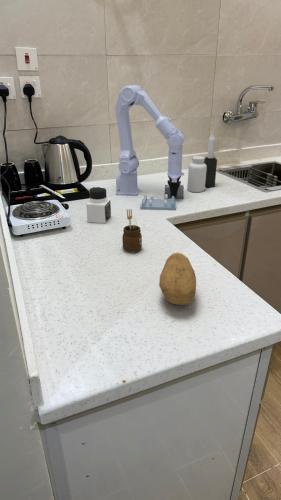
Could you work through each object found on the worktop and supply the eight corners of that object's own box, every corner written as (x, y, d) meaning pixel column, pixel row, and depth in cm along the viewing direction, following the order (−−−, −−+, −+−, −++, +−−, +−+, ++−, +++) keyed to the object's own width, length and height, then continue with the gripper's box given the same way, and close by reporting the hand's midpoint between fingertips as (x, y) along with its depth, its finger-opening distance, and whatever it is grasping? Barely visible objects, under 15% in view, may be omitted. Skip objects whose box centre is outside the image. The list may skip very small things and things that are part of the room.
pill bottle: (206, 192, 160) (208, 159, 153) (188, 192, 160) (190, 159, 153) (203, 187, 167) (206, 155, 160) (186, 187, 167) (188, 155, 160)
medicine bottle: (106, 223, 128) (104, 191, 123) (87, 222, 130) (84, 190, 124) (111, 216, 134) (110, 185, 129) (93, 215, 136) (91, 184, 130)
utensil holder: (125, 254, 107) (124, 217, 101) (120, 245, 112) (119, 209, 107) (144, 252, 108) (144, 215, 103) (138, 243, 114) (138, 207, 108)
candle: (200, 185, 170) (204, 130, 159) (209, 184, 172) (214, 130, 161) (206, 188, 166) (211, 132, 155) (215, 186, 168) (220, 131, 156)
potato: (156, 315, 80) (157, 280, 76) (161, 279, 94) (161, 247, 90) (195, 317, 79) (198, 282, 75) (194, 281, 93) (196, 249, 89)
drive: (164, 199, 153) (164, 187, 150) (164, 195, 157) (164, 184, 154) (183, 199, 152) (183, 187, 150) (182, 196, 156) (183, 184, 154)
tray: (140, 209, 141) (140, 200, 140) (142, 200, 150) (142, 192, 149) (175, 210, 140) (175, 201, 139) (175, 201, 149) (176, 193, 147)
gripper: (184, 167, 141) (183, 199, 147) (184, 158, 154) (183, 189, 160) (167, 166, 141) (166, 199, 148) (168, 158, 154) (167, 188, 160)
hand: (173, 194), depth 154 cm, fingers open, 7 cm apart
